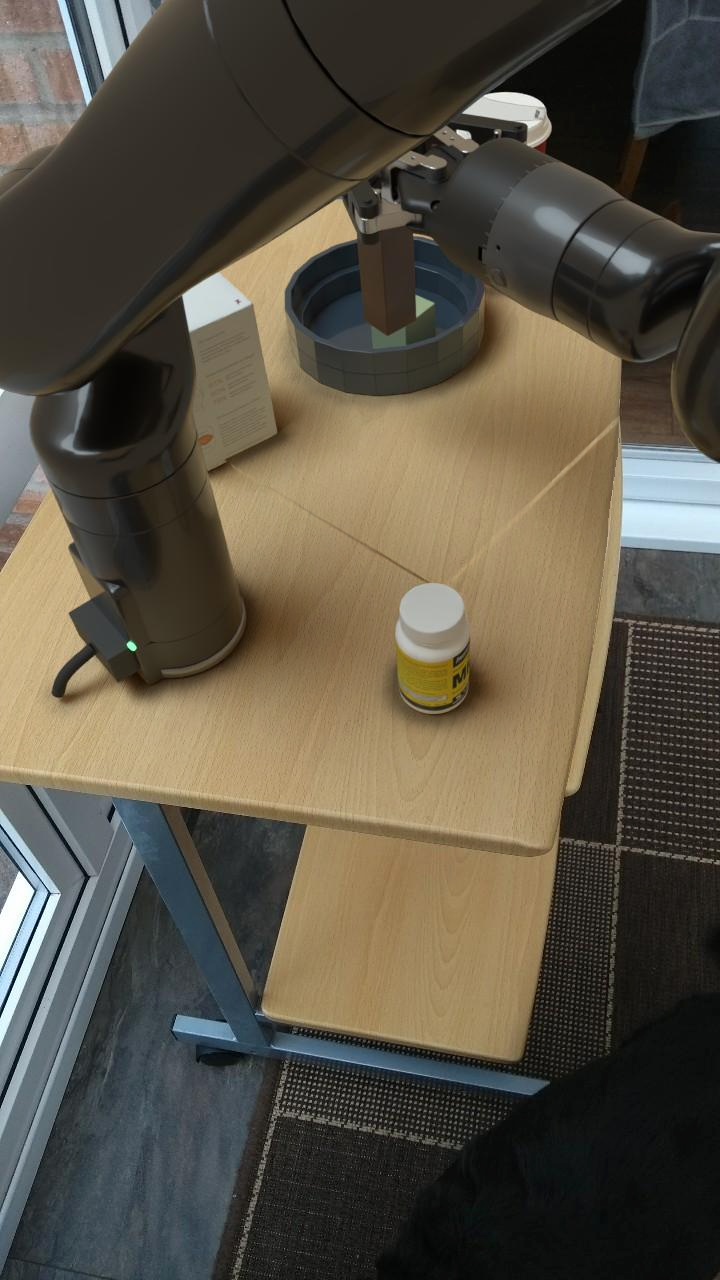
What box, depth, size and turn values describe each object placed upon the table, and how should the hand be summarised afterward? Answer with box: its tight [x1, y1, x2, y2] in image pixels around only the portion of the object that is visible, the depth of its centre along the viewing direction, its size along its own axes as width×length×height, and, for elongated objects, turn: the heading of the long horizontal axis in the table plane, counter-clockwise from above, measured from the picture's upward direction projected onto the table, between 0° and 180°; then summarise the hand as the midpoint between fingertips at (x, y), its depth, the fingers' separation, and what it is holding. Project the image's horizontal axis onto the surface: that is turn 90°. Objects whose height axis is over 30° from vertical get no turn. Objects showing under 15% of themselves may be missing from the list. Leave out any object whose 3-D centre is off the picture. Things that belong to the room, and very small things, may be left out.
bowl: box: [284, 235, 486, 397], centre depth 90 cm, size 17×17×5 cm
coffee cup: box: [457, 91, 553, 286], centre depth 91 cm, size 8×8×15 cm
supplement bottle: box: [394, 582, 471, 715], centre depth 65 cm, size 5×5×8 cm
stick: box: [356, 171, 416, 336], centre depth 69 cm, size 3×3×15 cm
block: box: [371, 295, 436, 349], centre depth 89 cm, size 4×4×4 cm
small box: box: [182, 272, 278, 472], centre depth 80 cm, size 8×6×13 cm
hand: (351, 131), depth 67 cm, fingers closed on stick, 3 cm apart
